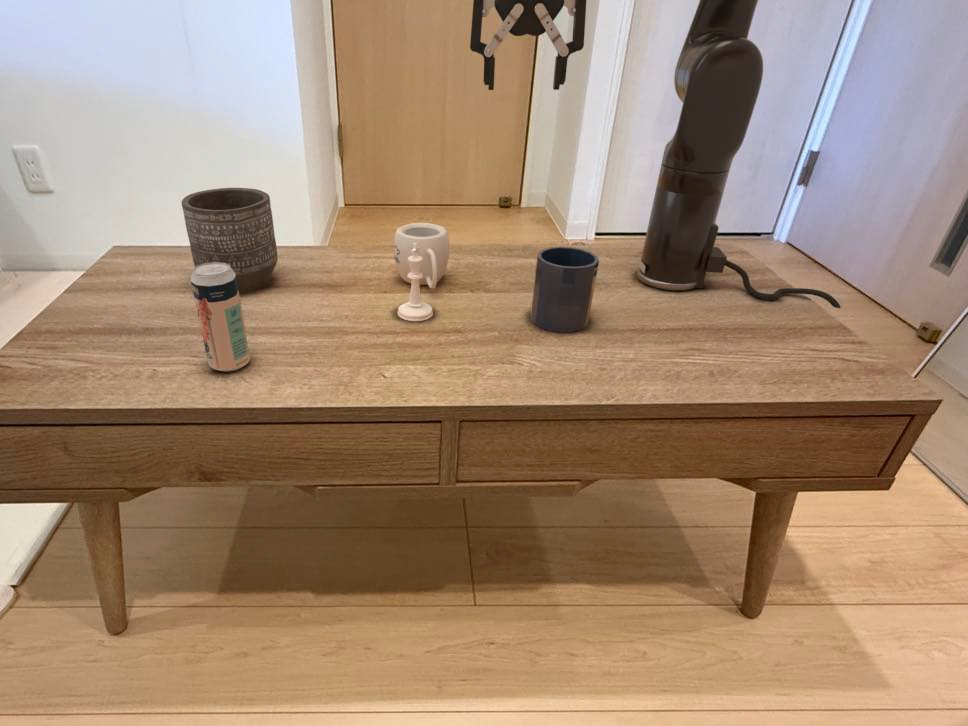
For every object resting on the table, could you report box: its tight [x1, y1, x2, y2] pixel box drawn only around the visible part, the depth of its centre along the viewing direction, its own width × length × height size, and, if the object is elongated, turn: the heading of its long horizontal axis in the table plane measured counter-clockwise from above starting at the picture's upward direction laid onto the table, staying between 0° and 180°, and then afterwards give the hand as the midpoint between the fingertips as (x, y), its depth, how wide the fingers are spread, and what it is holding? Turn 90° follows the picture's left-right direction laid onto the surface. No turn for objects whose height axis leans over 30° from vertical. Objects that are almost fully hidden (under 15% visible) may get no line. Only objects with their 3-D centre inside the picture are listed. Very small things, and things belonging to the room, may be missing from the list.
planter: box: [181, 187, 279, 294], centre depth 90 cm, size 12×12×13 cm
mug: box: [393, 222, 450, 290], centre depth 92 cm, size 12×8×8 cm
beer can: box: [189, 262, 251, 372], centre depth 70 cm, size 5×5×12 cm
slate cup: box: [530, 246, 600, 333], centre depth 82 cm, size 8×8×9 cm
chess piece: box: [397, 243, 434, 322], centre depth 83 cm, size 5×5×10 cm
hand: (523, 89), depth 81 cm, fingers open, 8 cm apart
